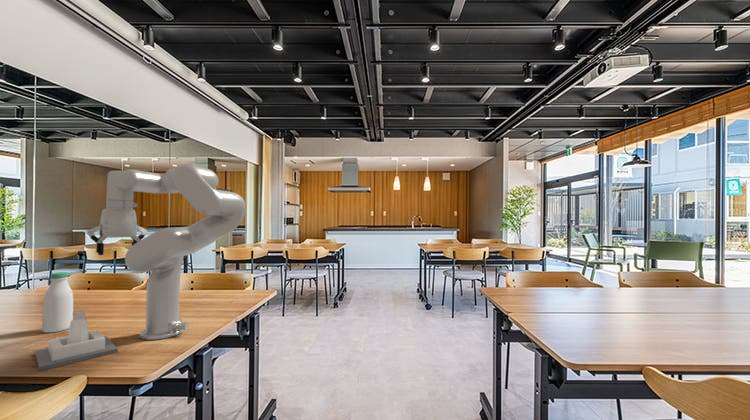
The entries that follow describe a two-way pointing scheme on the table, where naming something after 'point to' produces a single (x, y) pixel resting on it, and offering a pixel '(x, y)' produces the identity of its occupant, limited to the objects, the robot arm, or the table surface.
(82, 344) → the socket
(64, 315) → the milk bottle
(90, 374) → the table surface
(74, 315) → the salt shaker
